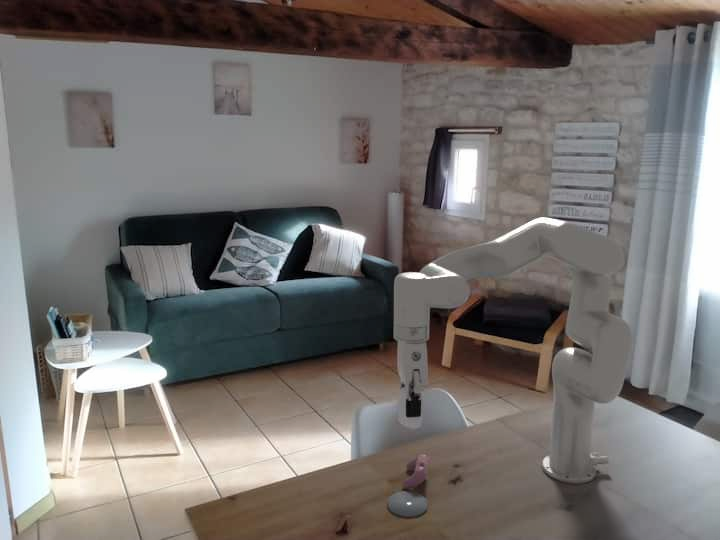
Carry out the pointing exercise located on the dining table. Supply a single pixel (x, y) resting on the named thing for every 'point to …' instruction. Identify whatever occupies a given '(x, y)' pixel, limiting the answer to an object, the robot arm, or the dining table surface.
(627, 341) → the robot arm
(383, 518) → the dining table surface
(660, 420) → the dining table surface
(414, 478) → the video game controller
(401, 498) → the glossy grey pebble
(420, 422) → the eye dropper bottle
